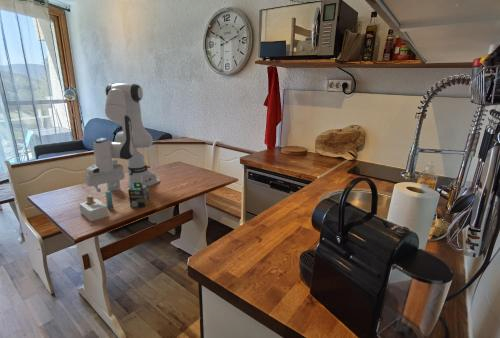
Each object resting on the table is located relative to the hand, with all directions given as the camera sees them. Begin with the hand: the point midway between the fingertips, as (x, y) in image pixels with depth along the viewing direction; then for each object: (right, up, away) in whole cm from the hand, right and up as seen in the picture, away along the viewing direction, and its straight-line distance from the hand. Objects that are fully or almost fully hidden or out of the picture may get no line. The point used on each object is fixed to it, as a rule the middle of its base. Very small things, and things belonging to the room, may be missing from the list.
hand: (107, 189), depth 154 cm
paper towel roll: (-12, -2, +30) cm, 32 cm away
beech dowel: (-7, -13, -3) cm, 15 cm away
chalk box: (+15, -10, +9) cm, 21 cm away
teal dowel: (0, -11, +4) cm, 11 cm away
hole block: (-4, -14, -5) cm, 15 cm away
